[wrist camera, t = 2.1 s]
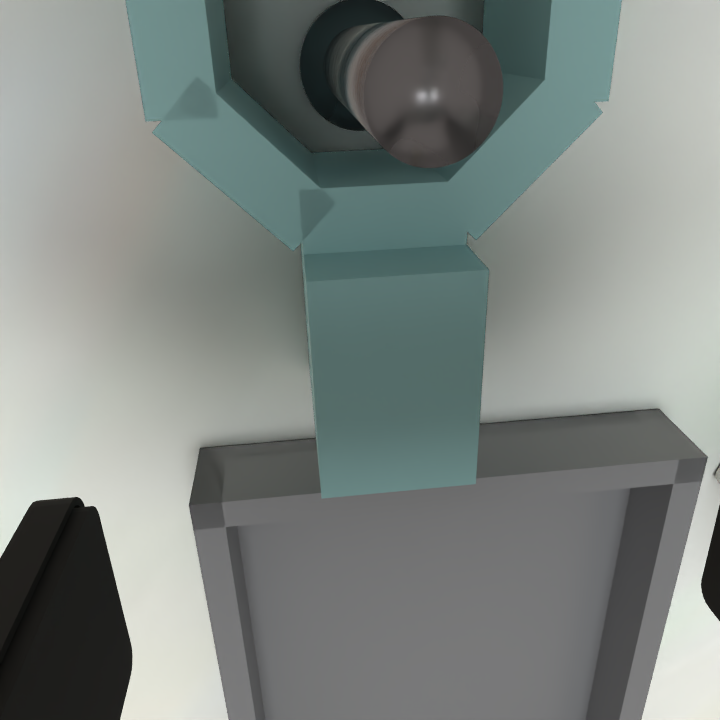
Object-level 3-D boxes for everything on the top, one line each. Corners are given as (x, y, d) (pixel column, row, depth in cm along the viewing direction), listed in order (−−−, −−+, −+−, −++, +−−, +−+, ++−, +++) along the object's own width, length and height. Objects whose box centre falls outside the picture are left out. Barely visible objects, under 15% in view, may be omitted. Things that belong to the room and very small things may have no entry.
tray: (199, 448, 18) (188, 505, 16) (659, 408, 20) (708, 456, 17) (260, 811, 26) (259, 883, 24) (585, 768, 27) (612, 832, 25)
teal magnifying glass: (132, -226, 12) (28, -409, 7) (556, -225, 13) (732, -392, 8) (218, 377, 18) (195, 510, 13) (509, 355, 18) (593, 473, 13)
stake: (295, 1, 14) (311, -36, 7) (416, -3, 14) (557, -42, 7) (303, 130, 15) (325, 216, 8) (414, 125, 15) (535, 203, 8)
